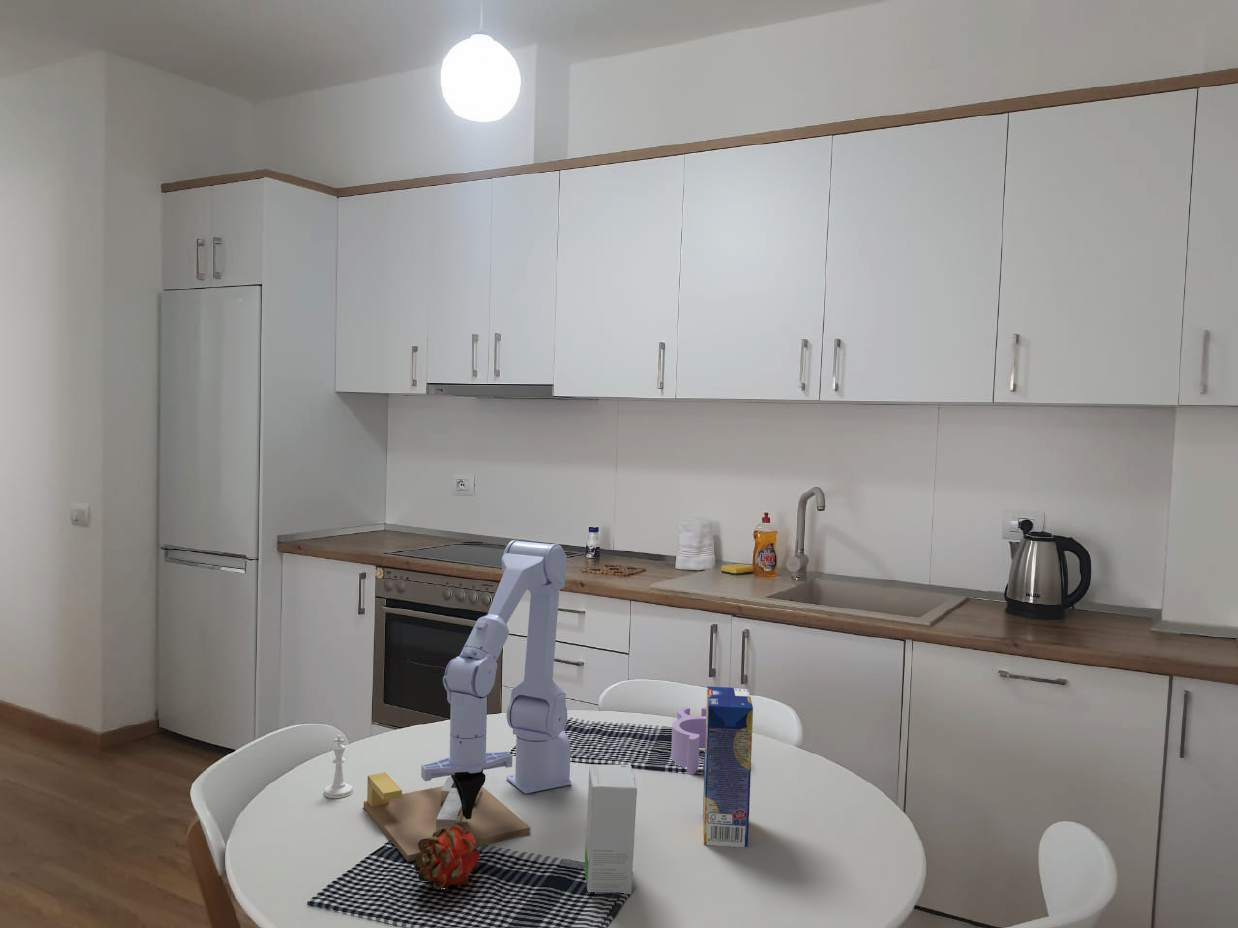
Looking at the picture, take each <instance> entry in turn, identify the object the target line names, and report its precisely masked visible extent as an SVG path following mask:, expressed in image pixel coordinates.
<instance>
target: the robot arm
mask: <svg viewBox="0 0 1238 928" xmlns="http://www.w3.org/2000/svg"><path fill="white" fill-rule="evenodd" d="M502 554H503V555H502V557H501V570H502V577H501V579H500V581H499V583H498V587H497V589H496V592H495V594H494V597H493V600H492V602H491V604H490V606H489V610H488V612H487V614H486V615H484V616H481V617H478V619H477V620H476V622H475V624H474V626H473V628H472V630H471V632H470V634H469V636H468V638H467V640H466V642H465V643H464V646H463V648H462V650H461V652H460V654H459V656H458V655H457V656H456V657H455V658H452V659H451V660H450V661H449V662H448V663H447V665H446V668H445V671H444V676H443V677H442V683H443V687H444V689H445V691H446V695H447V697H446V700H447V701H448V704H449V705H450V712H449V713H450V715H449V717H450V721H449V722H450V723H449V756H448V757H445V758H443V759H440V760H437V761H433V762H430V763H426V764H422V765H421V767H420V768H421V773H420V775H421V776H420V777H421V779H422V780H424V782H428V781H432V779H437V778H443V777H447V776H448V777H449V776H450V777H452V779H453V782H454V784H455V786H456V788H457V791H458V794H459V797H460V801H461V805H462V815H463V816H464V817H465V818H466V819H471V817H472V810H473V807H474V803H475V800H476V798H477V795H478V793H479V791H480V789H481V787H482V786H483V787H484V785H485V783H486V778H487V777H486V774H485V773H484V771H485V770H491V769H496V768H502V767H504V768H506V769H507V768H512V767H513V754H511V753H510V752H509V751H500V752H487V728H488V727H487V720H488V717H487V716H488V713H487V712H488V694H489V693H491V691H492V689H493V688H494V685H495V682H496V675H497V670H498V665H499V664H498V662H497V661H498V658H499V657H500V655H501V652H502V649H503V648H504V646H505V643H506V641H507V640H508V637H509V634H510V631H509V627H508V625H507V624H508V622H509V620H510V618H511V617H512V615H513V614H514V612H515V610H516V608H517V607H518V605H519V603H520V602H521V600H522V598H523V597H524V595H525V593H526V591H527V590H528V592H529V594H530V599H529V600H530V601H529V613H528V626H527V627H528V628H527V639H526V649H525V664H524V665H525V666H524V675H523V676H524V677H523V679H524V680H522V681H520V682H519V683H518V684H516V685H514V687H512V689H511V694H510V698H509V699H510V700H509V702H508V704H507V706H506V707H507V709H506V716H505V717H506V721H507V724H508V726H509V728H511V729H512V734H513V735H515V739H516V740H515V743H516V744H515V773H514V774H511V775H507V776H506V780H507V781H508V782H510V783H511V785H514V787H515V788H518V790H520V792H522V793H523V794H531V793H536V792H541V791H545V790H546V791H547V790H551V789H554V788H560V787H565V786H569V785H572V780H570V778H571V777H570V776H571V775H570V772H571V743H570V740H569V737H568V735H567V733H566V732H565V731H564V730H565V727H566V724H567V722H568V721H567V720H568V709H567V701H566V699H567V698H566V695H567V694H566V692H565V691H564V690H563V689H562V688H561V687H560V686H559V685H558V684H557V683H556V682H555V681H554V680H553V679H554V678H553V677H554V666H555V653H556V641H557V640H556V637H557V629H558V628H557V625H558V615H559V614H558V611H559V603H560V602H559V601H560V600H559V599H560V590H561V589H565V585H566V583H565V582H566V576H567V575H566V574H567V559H568V557H567V554H566V553H565V550H564V548H563V547H562V545H560V544H559V543H541V542H531V541H521V540H517V539H513V540H510V541H509V542H508V544H507V545H506V546H505V549H504V551H503V553H502Z"/></svg>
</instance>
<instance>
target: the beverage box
mask: <svg viewBox="0 0 1238 928" xmlns="http://www.w3.org/2000/svg"><path fill="white" fill-rule="evenodd" d="M706 707H707V709H706V738H705V752H704V767H703V768H704V769H703V771H704V773H703V795H702V796H703V803H702V829H703V830H702V832H703V845H704V846H717V847H718V846H719V847H729V848H731V847H733V848H746V849H747V848H749V833H750V832H749V830H750V827H749V826H750V805H751V803H750V801H751V776H752V774H751V773H752V770H751V769H752V749H753V748H752V745H753V723H754V721H753V719H754V718H753V716H754V713H753V712H754V706H753V702H752V697H751V693H750V689H749V687H748V688H746V687H745V688H744V687H730V686H729V687H728V686H727V687H726V686H710V685H709V686H706Z"/></svg>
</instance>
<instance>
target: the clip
mask: <svg viewBox="0 0 1238 928" xmlns="http://www.w3.org/2000/svg"><path fill="white" fill-rule="evenodd" d="M706 709H707V706H702V707H701V709H700V710H701V711H700V712H701V715H700V716H699V715H698V716H695V715H691V707H690V706H689V707H688V706H683V707H680V708H678V710H677V713H676V714H677V715H676V717H677V719H676V720H674V721H673V722H672V727H671V748H670V749H671V755H670V757H671V758H672V760H673V761H674V762H675V763H676V764H677V765H680V766H682V767H687V770H686V774H687V775H691V776H692V775H695V774H696V773H695V772H696V770H697V769H698V767H700V752H699V748H705V738H706ZM671 758H670V759H671ZM694 773H695V774H694Z"/></svg>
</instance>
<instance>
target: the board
mask: <svg viewBox="0 0 1238 928" xmlns="http://www.w3.org/2000/svg"><path fill="white" fill-rule="evenodd" d="M443 786H444V785H442V786H436V787H430V788H428V789H427V788H426V789H425V788H424V789H421V790H416V791H412V792H411V791H410V792H405V793H402V797H401V798H396V799H391V800H389V803H388V804H383V805H378V806H372V807H371V805H370V804H369V803H368V802H367V800H365V801H363V808H364V810H365V811H366V812H367V813H368V815H369V816H370V817H371V819H372V820H373V821H374V822H375V823H376V824H377V826H378V827H379V828H380V829H381V831H382V832H383V833H384V835H385V836H386V837H387V838H388V839H389V841H390V842H391V843H392V844H393V846H395V848H396V849H397V851H398V852H399V853H400V855H402V856H403V858H404V859H405V860H406V862H407V863H409V862H416V859H415V858H416V856H417V855H418V853H419V852H420V850H419V847H418V842H419V841H420V840H421V839H426V838H431V837H432V836H433V833H434V832H436V819H437V817H438V815H439V813H440V810H441V808H442V806H443V804H444V803H441V790H442V788H443ZM459 826H460V827H462V828H463V831H464V830H467V829H468V830H469V831H470V832H471V833H472V834H473V836H474V837H475V841H476V844H475V845H476V846H477V847H478V846H479V847H480V846H482V845H487V844H490V843H491V844H492V843H496V842H499V841H505V840H508V839H513V838H517V837H518V838H519V837H520V836H525V835H530V834H531V826H529V825H528V824H527V823H526V822H525V821H524V820H523V819H522V818H520V817H519V816H517V815H516V814H515V812H513V811H512V810H511V809H510V808H509V807H507V806H506V805H505V804H504V803H503V802H502V801H500V800H499V799H498V798H497V797H495V796H494V794H492V793H491V792H489V791H488V789H486V788H485V787H484V785H483V786H482V791H481V794H480V796H479V799H478V801H477V804H474V807H473V810H472V817H471V819H466V818H465V817H464V816H463V815H462V818H461V820H460V823H459Z"/></svg>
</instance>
